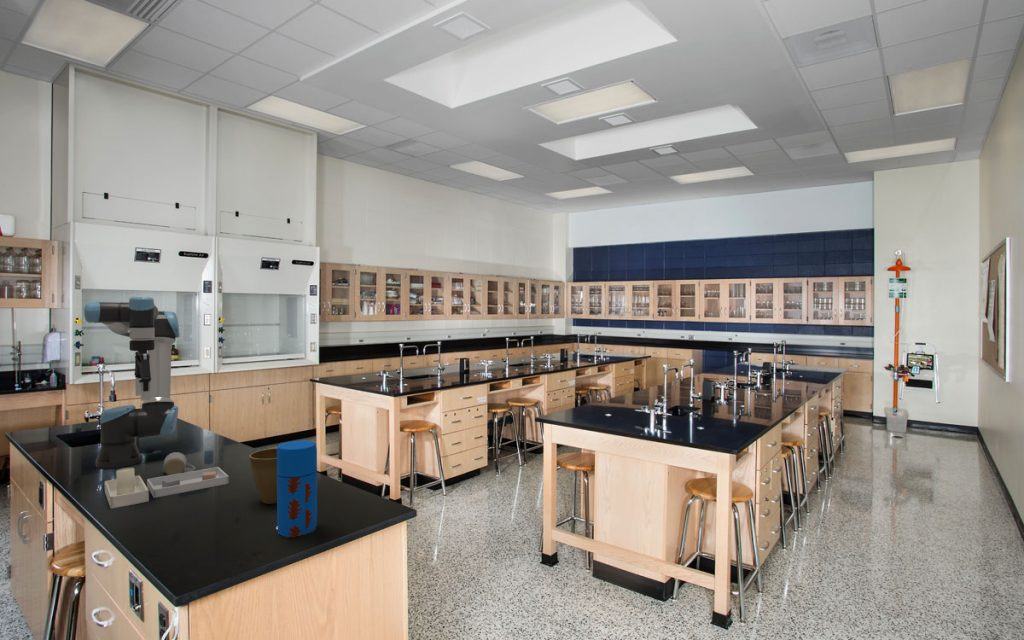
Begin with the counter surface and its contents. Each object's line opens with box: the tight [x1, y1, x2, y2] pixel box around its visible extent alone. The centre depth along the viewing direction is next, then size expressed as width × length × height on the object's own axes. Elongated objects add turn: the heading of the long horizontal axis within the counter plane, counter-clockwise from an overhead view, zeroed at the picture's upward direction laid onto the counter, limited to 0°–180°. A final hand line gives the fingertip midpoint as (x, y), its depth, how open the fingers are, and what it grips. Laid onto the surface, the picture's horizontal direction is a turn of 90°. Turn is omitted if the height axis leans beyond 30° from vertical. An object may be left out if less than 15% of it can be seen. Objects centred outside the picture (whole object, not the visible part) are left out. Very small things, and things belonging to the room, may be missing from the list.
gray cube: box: [162, 478, 180, 488], centre depth 191 cm, size 4×4×4 cm
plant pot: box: [249, 447, 277, 505], centre depth 184 cm, size 15×15×16 cm
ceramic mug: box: [162, 451, 196, 476], centre depth 213 cm, size 11×8×8 cm
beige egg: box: [115, 467, 136, 496], centre depth 186 cm, size 5×5×9 cm
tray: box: [146, 466, 230, 499], centre depth 198 cm, size 15×23×3 cm, turn 131°
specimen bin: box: [104, 474, 150, 510], centre depth 186 cm, size 21×10×4 cm, turn 41°
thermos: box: [276, 440, 318, 537], centre depth 160 cm, size 11×11×25 cm
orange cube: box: [202, 471, 216, 481], centre depth 199 cm, size 4×4×4 cm
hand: (142, 397), depth 199 cm, fingers open, 13 cm apart
